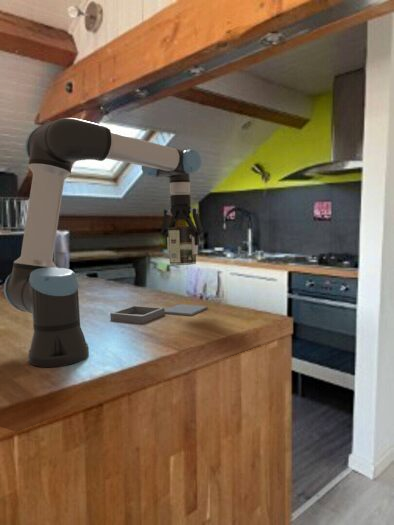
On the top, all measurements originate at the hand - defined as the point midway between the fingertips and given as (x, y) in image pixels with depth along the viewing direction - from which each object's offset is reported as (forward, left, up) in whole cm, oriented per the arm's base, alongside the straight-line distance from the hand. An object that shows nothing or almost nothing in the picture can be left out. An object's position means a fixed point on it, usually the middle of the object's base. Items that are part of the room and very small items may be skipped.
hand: (182, 253), depth 161 cm
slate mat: (0, 0, -22) cm, 22 cm away
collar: (-15, +11, -22) cm, 29 cm away
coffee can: (0, 0, -4) cm, 4 cm away
